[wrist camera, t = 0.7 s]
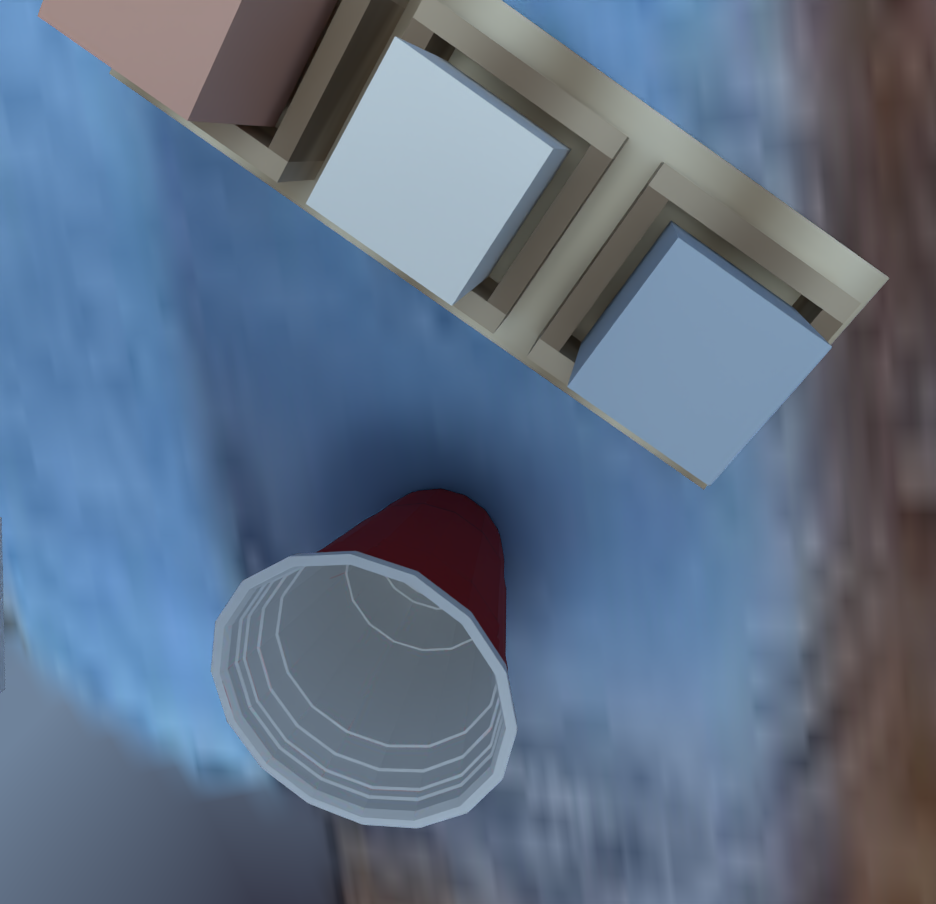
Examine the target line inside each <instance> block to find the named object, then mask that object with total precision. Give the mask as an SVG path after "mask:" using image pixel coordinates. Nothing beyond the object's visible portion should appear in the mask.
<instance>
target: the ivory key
mask: <svg viewBox="0 0 936 904" xmlns="http://www.w3.org/2000/svg"><path fill="white" fill-rule="evenodd" d="M570 151H571V149H570V148H569V147H567V146H566V145H564V144H563V143H562V142H560V141H559V140H557V139H556V138H555V137H553V136H552V135H550V134H549V133H547V132H546V131H545V130H543V129H542V128H540V127H539V126H538V125H536V124H535V123H533V122H532V121H531V120H529V119H528V118H526V117H525V116H524V115H522V114H521V113H519V112H518V111H517V110H515V109H514V108H512V107H511V106H510V105H508V104H507V103H505V102H504V101H503V100H501V99H500V98H498V97H497V96H495V95H494V94H493V93H491V92H490V91H488V90H487V89H486V88H484V87H483V86H481V85H480V84H479V83H477V82H476V81H474V80H473V79H472V78H470V77H469V76H467V75H466V74H465V73H463V72H462V71H460V70H459V69H458V68H456V67H455V66H453V65H452V64H451V63H449V62H448V61H446V60H444V59H442V58H440V57H438V56H436V55H434V54H432V53H430V52H428V51H425V50H423V49H421V48H419V47H417V46H415V45H413V44H411V43H409V42H406V41H404V40H402V39H400V38H398V37H396V36H395V37H394V39H393V41H392V43H391V45H390V47H389V49H388V50H387V52H386V54H385V56H384V58H383V60H382V62H381V64H380V65H379V67H378V69H377V71H376V73H375V75H374V77H373V79H372V80H371V82H370V84H369V86H368V88H367V90H366V92H365V94H364V95H363V97H362V99H361V101H360V103H359V105H358V107H357V109H356V110H355V112H354V114H353V116H352V118H351V120H350V122H349V124H348V125H347V127H346V129H345V131H344V133H343V135H342V137H341V138H340V140H339V142H338V144H337V146H336V148H335V150H334V152H333V153H332V155H331V157H330V159H329V161H328V163H327V165H326V167H325V168H324V170H323V172H322V174H321V176H320V178H319V180H318V182H317V183H316V185H315V187H314V189H313V191H312V193H311V195H310V197H309V198H308V200H307V202H306V204H307V205H308V206H310V207H311V208H313V209H314V210H315V211H317V212H318V213H320V214H321V215H323V216H324V217H325V218H327V219H328V220H330V221H331V222H333V223H334V224H335V225H337V226H338V227H340V228H341V229H343V230H344V231H345V232H347V233H348V234H350V235H351V236H353V237H354V238H355V239H357V240H358V241H360V242H361V243H363V244H364V245H365V246H367V247H368V248H370V249H371V250H373V251H374V252H375V253H377V254H378V255H380V256H381V257H383V258H384V259H385V260H387V261H388V262H390V263H391V264H393V265H394V266H395V267H397V268H398V269H400V270H401V271H403V272H404V273H405V274H407V275H408V276H410V277H411V278H413V279H414V280H415V281H417V282H418V283H420V284H421V285H423V286H424V287H425V288H427V289H428V290H430V291H431V292H433V293H434V294H435V295H437V296H438V297H440V298H441V299H443V300H444V301H445V302H447V303H448V304H450V305H451V306H452V305H454V304H455V303H456V302H457V301H459V300H460V299H461V298H462V297H464V296H465V295H466V294H467V293H468V292H470V291H471V290H472V289H473V288H475V287H476V286H477V285H478V284H480V283H481V282H482V281H483V280H485V279H486V278H487V277H488V276H489V274H490V273H491V271H492V270H493V268H494V267H495V265H496V264H497V262H498V261H499V259H500V258H501V256H502V255H503V253H504V252H505V250H506V249H507V247H508V245H509V244H510V242H511V241H512V239H513V238H514V236H515V235H516V233H517V232H518V230H519V229H520V227H521V226H522V224H523V223H524V221H525V220H526V218H527V217H528V215H529V213H530V212H531V210H532V209H533V207H534V206H535V204H536V203H537V201H538V200H539V198H540V197H541V195H542V194H543V192H544V191H545V189H546V188H547V186H548V185H549V183H550V181H551V180H552V178H553V177H554V175H555V174H556V172H557V171H558V169H559V168H560V166H561V165H562V163H563V162H564V160H565V159H566V157H567V156H568V154H569V152H570Z"/></svg>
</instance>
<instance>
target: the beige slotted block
mask: <svg viewBox="0 0 936 904" xmlns="http://www.w3.org/2000/svg"><path fill="white" fill-rule="evenodd" d="M395 36H396V37H398V38H400V39H402V40H404V41H406V42H409V43H411V44H413V45H415V46H417V47H419V48H421V49H423V50H425V51H428V52H430V53H432V54H434V55H436V56H438V57H440V58H442V59H444V60H446V61H448V62H449V63H451V64H452V65H453V66H455V67H456V68H458V69H459V70H460V71H462V72H463V73H465V74H466V75H467V76H469V77H470V78H472V79H473V80H474V81H476V82H477V83H479V84H480V85H481V86H483V87H484V88H486V89H487V90H488V91H490V92H491V93H493V94H494V95H495V96H497V97H498V98H500V99H501V100H503V101H504V102H505V103H507V104H508V105H510V106H511V107H512V108H514V109H515V110H517V111H518V112H519V113H521V114H522V115H524V116H525V117H526V118H528V119H529V120H531V121H532V122H533V123H535V124H536V125H538V126H539V127H540V128H542V129H543V130H545V131H546V132H547V133H549V134H550V135H552V136H553V137H555V138H556V139H557V140H559V141H560V142H562V143H563V144H564V145H566V146H567V147H569V148H570V149H571V151H570V152H569V154H568V156H567V157H566V159H565V160H564V162H563V163H562V165H561V166H560V168H559V169H558V171H557V172H556V174H555V175H554V177H553V178H552V180H551V181H550V183H549V185H548V186H547V188H546V189H545V191H544V192H543V194H542V195H541V197H540V198H539V200H538V201H537V203H536V204H535V206H534V207H533V209H532V210H531V212H530V213H529V215H528V217H527V218H526V220H525V221H524V223H523V224H522V226H521V227H520V229H519V230H518V232H517V233H516V235H515V236H514V238H513V239H512V241H511V242H510V244H509V245H508V247H507V249H506V250H505V252H504V253H503V255H502V256H501V258H500V259H499V261H498V262H497V264H496V265H495V267H494V268H493V270H492V271H491V273H490V274H489V276H488V277H487V278H486V279H485V280H483V281H482V282H481V283H480V284H478V285H477V286H476V287H475V288H473V289H472V290H471V291H470V292H468V293H467V294H466V295H465V296H464V297H462V298H461V299H460V300H459V301H457V302H456V303H455V304H454V305H452V306H451V305H450V304H448V303H447V302H445V301H444V300H443V299H441V298H440V297H438V296H437V295H435V294H434V293H433V292H431V291H430V290H428V289H427V288H425V287H424V286H423V285H421V284H420V283H418V282H417V281H415V280H414V279H413V278H411V277H410V276H408V275H407V274H405V273H404V272H403V271H401V270H400V269H398V268H397V267H395V266H394V265H393V264H391V263H390V262H388V261H387V260H385V259H384V258H383V257H381V256H380V255H378V254H377V253H375V252H374V251H373V250H371V249H370V248H368V247H367V246H365V245H364V244H363V243H361V242H360V241H358V240H357V239H355V238H354V237H353V236H351V235H350V234H348V233H347V232H345V231H344V230H343V229H341V228H340V227H338V226H337V225H335V224H334V223H333V222H331V221H330V220H328V219H327V218H325V217H324V216H323V215H321V214H320V213H318V212H317V211H315V210H314V209H313V208H311V207H310V206H308V205H307V204H306V202H307V200H308V198H309V197H310V195H311V193H312V191H313V189H314V187H315V185H316V183H317V182H318V180H319V178H320V176H321V174H322V172H323V170H324V168H325V167H326V165H327V163H328V161H329V159H330V157H331V155H332V153H333V152H334V150H335V148H336V146H337V144H338V142H339V140H340V138H341V137H342V135H343V133H344V131H345V129H346V127H347V125H348V124H349V122H350V120H351V118H352V116H353V114H354V112H355V110H356V109H357V107H358V105H359V103H360V101H361V99H362V97H363V95H364V94H365V92H366V90H367V88H368V86H369V84H370V82H371V80H372V79H373V77H374V75H375V73H376V71H377V69H378V67H379V65H380V64H381V62H382V60H383V58H384V56H385V54H386V52H387V50H388V49H389V47H390V45H391V43H392V41H393V39H394V37H395ZM109 74H111V75H112V76H113V77H115V78H116V79H118V80H119V81H121V82H122V83H123V84H125V85H126V86H128V87H129V88H131V89H132V90H134V91H135V92H136V93H138V94H139V95H141V96H142V97H144V98H145V99H146V100H148V101H149V102H151V103H152V104H154V105H155V106H156V107H158V108H159V109H161V110H162V111H164V112H165V113H166V114H168V115H169V116H171V117H172V118H174V119H175V120H176V121H178V122H179V123H181V124H182V125H184V126H185V127H186V128H188V129H189V130H191V131H192V132H194V133H195V134H196V135H198V136H199V137H201V138H202V139H204V140H205V141H206V142H208V143H209V144H211V145H212V146H214V147H215V148H216V149H218V150H219V151H221V152H222V153H224V154H225V155H226V156H228V157H229V158H231V159H232V160H234V161H235V162H236V163H238V164H239V165H241V166H242V167H244V168H245V169H246V170H248V171H249V172H251V173H252V174H254V175H255V176H256V177H258V178H259V179H261V180H262V181H264V182H265V183H266V184H268V185H269V186H271V187H272V188H274V189H275V190H276V191H278V192H279V193H281V194H282V195H284V196H285V197H286V198H288V199H289V200H291V201H292V202H294V203H295V204H296V205H298V206H299V207H301V208H302V209H304V210H305V211H306V212H308V213H309V214H311V215H312V216H314V217H315V218H316V219H318V220H319V221H321V222H322V223H324V224H325V225H326V226H328V227H329V228H331V229H332V230H334V231H335V232H336V233H338V234H339V235H341V236H342V237H344V238H345V239H346V240H348V241H349V242H351V243H352V244H354V245H355V246H357V247H358V248H359V249H361V250H362V251H364V252H365V253H367V254H368V255H369V256H371V257H372V258H374V259H375V260H377V261H378V262H379V263H381V264H382V265H384V266H385V267H387V268H388V269H389V270H391V271H392V272H394V273H395V274H397V275H398V276H399V277H401V278H402V279H404V280H405V281H407V282H408V283H409V284H411V285H412V286H414V287H415V288H417V289H418V290H419V291H421V292H422V293H424V294H425V295H427V296H428V297H429V298H431V299H432V300H434V301H435V302H437V303H438V304H439V305H441V306H442V307H444V308H445V309H447V310H448V311H449V312H451V313H452V314H454V315H455V316H457V317H458V318H459V319H461V320H462V321H464V322H465V323H467V324H468V325H469V326H471V327H472V328H474V329H475V330H477V331H478V332H479V333H481V334H482V335H484V336H485V337H487V338H488V339H489V340H491V341H492V342H494V343H495V344H497V345H498V346H499V347H501V348H502V349H504V350H505V351H507V352H508V353H509V354H511V355H512V356H514V357H515V358H517V359H518V360H519V361H521V362H522V363H524V364H525V365H527V366H528V367H529V368H531V369H532V370H534V371H535V372H537V373H538V374H539V375H541V376H542V377H544V378H545V379H547V380H548V381H549V382H551V383H552V384H554V385H555V386H557V387H558V388H559V389H561V390H562V391H564V392H565V393H567V394H568V395H569V396H571V397H572V398H574V399H575V400H577V401H578V402H579V403H581V404H582V405H584V406H585V407H587V408H588V409H590V410H591V411H592V412H594V413H595V414H597V415H598V416H600V417H601V418H602V419H604V420H605V421H607V422H608V423H610V424H611V425H612V426H614V427H615V428H617V429H618V430H620V431H621V432H622V433H624V434H625V435H627V436H628V437H630V438H631V439H632V440H634V441H635V442H637V443H638V444H640V445H641V446H642V447H644V448H645V449H647V450H648V451H650V452H651V453H652V454H654V455H655V456H657V457H658V458H660V459H661V460H662V461H664V462H665V463H667V464H668V465H670V466H671V467H672V468H674V469H675V470H677V471H678V472H680V473H681V474H682V475H684V476H685V477H687V478H688V479H690V480H691V481H692V482H694V483H695V484H697V485H698V486H700V487H701V488H702V489H705V488H706V486H707V484H705V483H704V482H703V481H701V480H700V479H698V478H697V477H695V476H694V475H693V474H691V473H690V472H688V471H687V470H685V469H684V468H683V467H681V466H680V465H678V464H677V463H675V462H674V461H673V460H671V459H670V458H668V457H667V456H665V455H664V454H663V453H661V452H660V451H658V450H657V449H655V448H654V447H653V446H651V445H650V444H648V443H647V442H645V441H644V440H643V439H641V438H640V437H638V436H637V435H635V434H634V433H633V432H631V431H630V430H628V429H627V428H625V427H624V426H623V425H621V424H620V423H618V422H617V421H615V420H614V419H613V418H611V417H610V416H608V415H607V414H605V413H604V412H603V411H601V410H600V409H598V408H597V407H595V406H594V405H593V404H591V403H590V402H588V401H587V400H585V399H584V398H583V397H581V396H580V395H578V394H577V393H575V392H574V391H573V390H571V389H570V388H568V387H567V386H568V383H569V379H570V376H571V373H572V370H573V367H574V364H575V361H576V358H577V354H578V351H579V348H580V345H581V342H582V341H583V340H584V338H585V337H586V335H587V334H588V333H589V331H590V330H591V329H592V327H593V326H594V325H595V323H596V322H597V320H598V319H599V318H600V316H601V315H602V314H603V312H604V311H605V310H606V308H607V307H608V305H609V304H610V303H611V301H612V300H613V299H614V297H615V296H616V295H617V293H618V292H619V290H620V289H621V288H622V286H623V285H624V284H625V282H626V281H627V280H628V278H629V277H630V275H631V274H632V273H633V271H634V270H635V269H636V267H637V266H638V265H639V263H640V262H641V260H642V259H643V258H644V256H645V255H646V254H647V252H648V251H649V250H650V248H651V247H652V245H653V244H654V243H655V241H656V240H657V239H658V237H659V236H660V235H661V233H662V232H663V231H664V229H665V228H666V226H667V225H668V224H669V222H670V221H673V222H674V223H675V224H677V225H678V226H680V227H681V228H682V229H684V230H685V231H687V232H688V233H689V234H691V235H692V236H694V237H695V238H696V239H698V240H699V241H701V242H702V243H703V244H705V245H706V246H708V247H709V248H711V249H712V250H713V251H715V252H716V253H718V254H719V255H720V256H722V257H723V258H725V259H726V260H727V261H729V262H730V263H732V264H733V265H734V266H736V267H737V268H739V269H740V270H741V271H743V272H744V273H746V274H747V275H748V276H750V277H751V278H753V279H754V280H755V281H757V282H758V283H760V284H761V285H763V286H764V287H765V288H767V289H768V290H770V291H771V292H772V293H774V294H775V295H777V296H778V297H779V298H781V299H782V300H784V301H785V302H786V303H788V304H789V305H791V306H792V307H793V308H795V309H796V310H797V311H798V312H799V314H800V315H801V316H802V317H803V318H804V319H805V320H806V321H807V322H808V323H809V324H810V325H811V326H812V327H813V328H814V329H815V330H816V331H817V332H818V333H819V334H820V335H821V336H822V337H823V338H824V339H825V340H826V341H827V342H828V343H829V344H830V345H831V344H832V343H833V342H834V341H835V339H836V338H837V337H838V336H839V335H840V334H841V333H842V332H843V330H844V329H845V328H846V327H847V326H848V325H849V324H850V322H851V321H852V320H853V319H854V318H855V317H856V316H857V314H858V313H859V312H860V311H861V310H862V309H863V308H864V306H865V305H866V304H867V303H868V302H869V301H870V300H871V298H872V297H873V296H874V295H875V294H876V293H877V292H878V290H879V289H880V288H881V287H882V286H883V285H884V284H885V283H886V281H887V280H888V279H889V277H887V276H886V275H884V274H883V273H882V272H880V271H879V270H877V269H876V268H875V267H873V266H872V265H870V264H869V263H868V262H866V261H865V260H863V259H862V258H861V257H859V256H858V255H856V254H855V253H854V252H852V251H851V250H849V249H848V248H847V247H845V246H844V245H842V244H841V243H840V242H838V241H837V240H835V239H834V238H833V237H831V236H830V235H829V234H827V233H826V232H824V231H823V230H822V229H820V228H819V227H817V226H816V225H815V224H813V223H812V222H810V221H809V220H808V219H806V218H805V217H803V216H802V215H801V214H799V213H798V212H796V211H795V210H794V209H792V208H791V207H789V206H788V205H787V204H785V203H784V202H782V201H781V200H780V199H778V198H777V197H775V196H774V195H773V194H771V193H770V192H768V191H767V190H766V189H764V188H763V187H762V186H760V185H759V184H757V183H756V182H755V181H753V180H752V179H750V178H749V177H748V176H746V175H745V174H743V173H742V172H741V171H739V170H738V169H736V168H735V167H734V166H732V165H731V164H729V163H728V162H727V161H725V160H724V159H722V158H721V157H720V156H718V155H717V154H715V153H714V152H713V151H711V150H710V149H708V148H707V147H706V146H704V145H703V144H701V143H700V142H699V141H697V140H696V139H694V138H693V137H692V136H690V135H689V134H688V133H686V132H685V131H683V130H682V129H681V128H679V127H678V126H676V125H675V124H674V123H672V122H671V121H669V120H668V119H667V118H665V117H664V116H662V115H661V114H660V113H658V112H657V111H655V110H654V109H653V108H651V107H650V106H648V105H647V104H646V103H644V102H643V101H641V100H640V99H639V98H637V97H636V96H634V95H633V94H632V93H630V92H629V91H627V90H626V89H625V88H623V87H622V86H621V85H619V84H618V83H616V82H615V81H614V80H612V79H611V78H609V77H608V76H607V75H605V74H604V73H602V72H601V71H600V70H598V69H597V68H595V67H594V66H593V65H591V64H590V63H588V62H587V61H586V60H584V59H583V58H581V57H580V56H579V55H577V54H576V53H574V52H573V51H572V50H570V49H569V48H567V47H566V46H565V45H563V44H562V43H560V42H559V41H558V40H556V39H555V38H553V37H552V36H551V35H549V34H548V33H547V32H545V31H544V30H542V29H541V28H540V27H538V26H537V25H535V24H534V23H533V22H531V21H530V20H528V19H527V18H526V17H524V16H523V15H521V14H520V13H519V12H517V11H516V10H514V9H513V8H512V7H510V6H509V5H507V4H506V3H505V2H503V1H502V0H338V1H337V3H336V5H335V7H334V9H333V11H332V13H331V15H330V17H329V19H328V21H327V23H326V25H325V27H324V29H323V31H322V33H321V35H320V37H319V39H318V41H317V43H316V45H315V47H314V49H313V51H312V53H311V55H310V57H309V59H308V61H307V63H306V65H305V67H304V69H303V71H302V73H301V75H300V77H299V79H298V81H297V83H296V85H295V87H294V89H293V91H292V93H291V95H290V97H289V99H288V101H287V103H286V105H285V107H284V109H283V111H282V113H281V115H280V117H279V119H278V121H277V123H276V125H275V127H267V126H253V125H239V124H224V123H210V122H196V121H187V120H185V119H184V118H183V117H181V116H180V115H178V114H177V113H175V112H174V111H173V110H171V109H170V108H168V107H167V106H165V105H164V104H162V103H161V102H160V101H158V100H157V99H155V98H154V97H152V96H151V95H150V94H148V93H147V92H145V91H144V90H142V89H141V88H140V87H138V86H137V85H135V84H134V83H132V82H131V81H130V80H128V79H127V78H125V77H124V76H122V75H121V74H120V73H118V72H117V71H115V70H114V69H112V68H111V71H110V73H109Z"/></svg>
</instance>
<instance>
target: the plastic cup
mask: <svg viewBox="0 0 936 904" xmlns="http://www.w3.org/2000/svg"><path fill="white" fill-rule="evenodd" d="M505 650H506V585H505V580H504V556H503V550H502V544H501V539H500V535H499V533H498V529H497V528H496V526H495V525H494V523H493V522H492V520H491V519H490V517H489V515H488V514H487V512H486V511H485V510H484V509H483V508H482V507H480V506H479V505H478V504H476V503H475V502H473V501H472V500H471V499H469V498H468V497H467V496H465V495H462V494H459V493H455V492H451V491H448V490H444V489H432V490H422V491H416V492H412V493H410V494H408V495H406V496H404V497H403V498H401V499H399V500H397V501H395V502H393V503H392V504H390V505H389V506H387V507H386V508H385V509H383V510H382V511H381V512H379V513H377V514H375V515H373V516H371V517H370V518H368V519H366V520H364V521H363V522H361V523H360V524H358V525H357V526H355V527H354V528H353V529H351V530H350V531H348V532H347V533H345V534H344V535H342V536H341V537H339V538H338V539H336V540H335V541H333V542H332V543H331V544H329V545H328V546H326V547H325V548H323V549H322V550H320V551H318V552H316V553H297V554H294V555H292V556H289V557H287V558H285V559H283V560H282V561H280V562H278V563H276V564H274V565H272V566H270V567H268V568H266V569H264V570H262V571H260V572H259V573H257V574H255V575H253V576H251V577H249V578H247V579H245V580H243V581H242V582H241V584H240V585H239V587H238V588H237V590H236V591H235V593H234V594H233V596H232V597H231V599H230V600H229V602H228V603H227V605H226V606H225V608H224V609H223V611H222V612H221V614H220V615H219V617H218V618H217V620H216V622H215V631H214V642H213V653H212V664H211V673H212V676H213V679H214V682H215V685H216V689H217V692H218V695H219V698H220V701H221V704H222V707H223V710H224V713H225V716H226V719H227V722H228V723H229V725H230V726H231V728H232V729H233V730H234V732H235V733H236V734H237V736H238V737H239V738H240V740H241V741H242V742H243V744H244V745H245V746H246V748H247V749H248V750H249V752H250V753H251V754H252V756H253V757H254V759H255V760H256V761H257V763H258V764H259V765H260V767H261V768H262V769H264V770H265V771H266V772H268V773H269V774H270V775H272V776H273V777H274V778H276V779H277V780H278V781H280V782H281V783H282V784H284V785H285V786H286V787H287V788H289V789H290V790H291V791H293V792H294V793H295V794H297V795H298V796H299V797H301V798H302V799H303V800H305V801H306V802H307V803H309V804H311V805H314V806H317V807H319V808H322V809H324V810H327V811H329V812H332V813H334V814H337V815H340V816H342V817H345V818H347V819H350V820H352V821H355V822H357V823H360V824H363V825H377V826H391V827H406V828H421V827H424V826H427V825H430V824H434V823H437V822H440V821H443V820H447V819H450V818H453V817H456V816H459V815H463V814H466V813H468V812H469V811H470V810H471V809H472V808H473V807H474V806H475V805H476V804H477V803H478V802H479V801H480V800H481V799H482V798H484V797H485V796H486V795H487V794H488V793H489V792H490V791H491V790H492V789H493V788H494V787H495V786H496V785H497V784H498V783H499V782H500V781H501V780H502V779H503V777H504V773H505V770H506V766H507V763H508V760H509V756H510V753H511V749H512V746H513V743H514V739H515V736H516V733H517V719H516V714H515V709H514V704H513V698H512V693H511V688H510V683H509V677H508V672H507V670H508V667H507V662H506V656H505Z"/></svg>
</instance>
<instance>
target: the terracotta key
mask: <svg viewBox="0 0 936 904" xmlns="http://www.w3.org/2000/svg"><path fill="white" fill-rule="evenodd" d="M337 1H338V0H43V2H42V5H41V8H40V10H39V13H38V17H40V18H41V19H42V20H44V21H45V22H47V23H48V24H50V25H51V26H52V27H54V28H55V29H57V30H58V31H60V32H61V33H62V34H64V35H65V36H67V37H68V38H70V39H71V40H72V41H74V42H75V43H77V44H78V45H80V46H81V47H82V48H84V49H85V50H87V51H88V52H90V53H91V54H92V55H94V56H95V57H97V58H98V59H100V60H101V61H102V62H104V63H105V64H107V65H108V66H110V67H111V68H112V69H114V70H115V71H117V72H118V73H120V74H121V75H122V76H124V77H125V78H127V79H128V80H130V81H131V82H132V83H134V84H135V85H137V86H138V87H140V88H141V89H142V90H144V91H145V92H147V93H148V94H150V95H151V96H152V97H154V98H155V99H157V100H158V101H160V102H161V103H162V104H164V105H165V106H167V107H168V108H170V109H171V110H173V111H174V112H175V113H177V114H178V115H180V116H181V117H183V118H184V119H185V120H187V121H196V122H210V123H224V124H239V125H253V126H267V127H275V125H276V123H277V121H278V119H279V117H280V115H281V113H282V111H283V109H284V107H285V105H286V103H287V101H288V99H289V97H290V95H291V93H292V91H293V89H294V87H295V85H296V83H297V81H298V79H299V77H300V75H301V73H302V71H303V69H304V67H305V65H306V63H307V61H308V59H309V57H310V55H311V53H312V51H313V49H314V47H315V45H316V43H317V41H318V39H319V37H320V35H321V33H322V31H323V29H324V27H325V25H326V23H327V21H328V19H329V17H330V15H331V13H332V11H333V9H334V7H335V5H336V3H337Z"/></svg>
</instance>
